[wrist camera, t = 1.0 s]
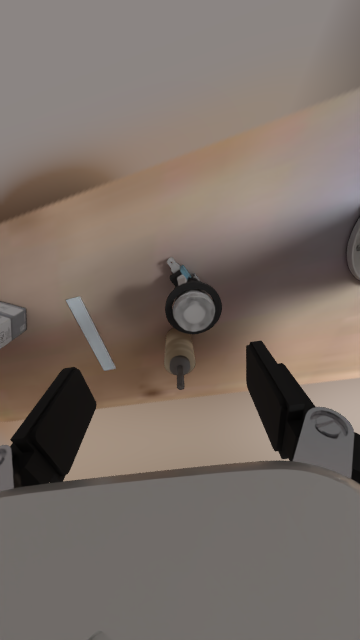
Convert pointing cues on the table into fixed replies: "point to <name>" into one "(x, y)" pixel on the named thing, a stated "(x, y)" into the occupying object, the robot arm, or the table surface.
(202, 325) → the push button
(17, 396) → the table surface
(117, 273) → the table surface
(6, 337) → the label tape cartridge
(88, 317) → the flat metal tool blade
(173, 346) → the awl
